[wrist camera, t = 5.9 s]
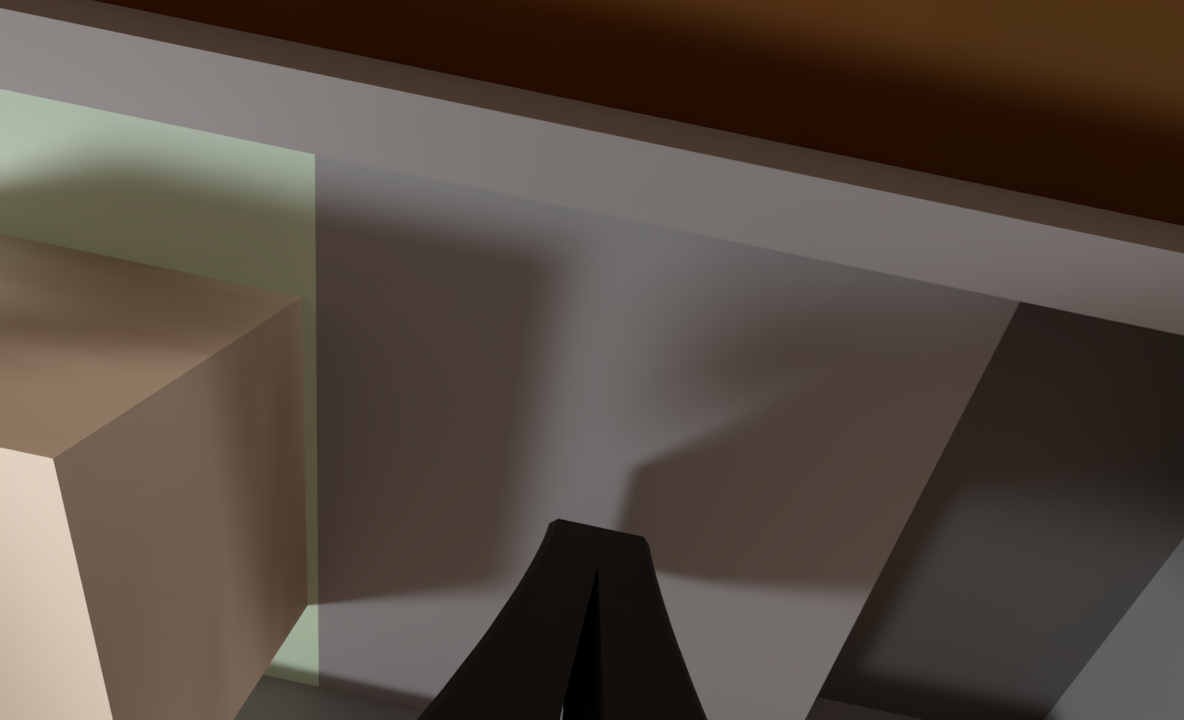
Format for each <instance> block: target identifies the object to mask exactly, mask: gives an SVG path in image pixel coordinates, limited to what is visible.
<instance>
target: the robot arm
mask: <svg viewBox="0 0 1184 720" xmlns="http://www.w3.org/2000/svg"><path fill="white" fill-rule="evenodd" d="M562 708H563V715H562V720H708V719H707V717H706V715H705V712H704V710H703V707H702V705H701V702H700V700H699V698H698V695H697V693H696V690H695V688H694V685H693V682H692V680H691V677H690V674H689V672H688V669H687V667H686V664H685V661H684V659H683V656H682V653H681V651H680V648H679V645H678V643H677V640H676V637H675V634H674V631H673V628H672V625H671V622H670V619H669V616H668V613H667V610H666V607H665V604H664V600H663V597H662V594H661V590H660V587H659V584H658V580H657V576H656V573H655V569H654V565H653V561H652V556H651V552H650V546H649V544H648V542H647V541H646V540H645V538H644V537H643V536H638V535H634V534H629V533H624V532H619V531H615V530H610V529H605V528H601V527H596V526H591V525H587V524H582V523H577V522H573V521H568V520H563V519H559V518H558V519H556V520H554V521H553V522H551V523H549V525H548V528H547V531H546V534H545V536H544V538H543V541H542V543H541V545H540V547H539V549H538V551H537V553H536V555H535V557H534V559H533V560H532V562H531V564H530V566H529V567H528V569H527V571H526V572H525V574H524V576H523V577H522V579H521V581H520V582H519V584H518V586H517V587H516V589H515V590H514V592H513V593H512V595H511V596H510V598H509V599H508V601H507V602H506V604H505V605H504V607H503V608H502V610H501V611H500V613H499V614H498V616H497V617H496V619H495V620H494V621H493V623H492V624H491V626H490V627H489V629H488V630H487V632H486V633H485V634H484V636H483V637H482V638H481V640H480V641H479V642H478V644H477V645H476V646H475V648H474V649H473V650H472V651H471V653H470V654H469V655H468V657H467V658H466V659H465V660H464V662H463V663H462V664H461V666H460V667H459V668H458V669H457V671H456V672H455V673H454V675H453V676H452V677H451V678H450V680H449V681H448V682H447V684H446V685H445V686H444V687H443V689H442V690H441V691H440V692H439V694H438V695H437V696H436V697H435V698H434V700H433V701H432V702H431V703H430V704H429V706H428V707H427V708H426V709H425V710H424V711H423V713H422V714H421V715H420V716H419V717H418V718H417V720H560V718H561V713H562Z"/></svg>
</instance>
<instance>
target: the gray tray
mask: <svg viewBox="0 0 1184 720" xmlns="http://www.w3.org/2000/svg"><path fill="white" fill-rule="evenodd" d="M0 234H5V235H10V236H14V237H19V238H24V239H29V240H34V241H38V242H43V243H48V244H53V245H57V246H62V247H67V248H72V249H76V250H81V251H86V252H91V253H95V254H100V255H105V256H110V257H114V258H119V259H124V260H129V261H133V262H138V263H143V264H148V265H153V266H157V267H162V268H167V269H172V270H176V271H181V272H186V273H191V274H195V275H200V276H205V277H210V278H214V279H219V280H224V281H229V282H233V283H238V284H243V285H248V286H253V287H257V288H262V289H267V290H272V291H276V292H281V293H286V294H291V295H295V296H300V297H302V311H303V368H304V425H305V482H306V539H307V596H308V606H307V607H306V609H305V610H304V612H303V613H302V615H301V617H300V618H299V620H298V621H297V623H296V624H295V626H294V627H293V629H292V630H291V632H290V633H289V635H288V637H287V638H286V640H285V641H284V643H283V644H282V646H281V647H280V649H279V650H278V652H277V653H276V655H275V657H274V658H273V660H272V661H271V663H270V664H269V666H268V667H267V669H266V670H265V672H264V673H263V675H262V677H261V678H260V680H259V681H258V683H257V684H256V686H255V687H254V689H253V690H252V692H251V693H250V695H249V697H248V698H247V700H246V701H245V703H244V704H243V706H242V707H241V709H240V710H239V712H238V713H237V715H236V717H235V718H234V720H417V718H418V717H419V716H420V715H421V714H422V713H423V711H424V710H425V709H426V708H427V707H428V706H429V704H430V703H431V702H432V701H433V700H434V698H435V697H436V696H437V695H438V694H439V692H440V691H441V690H442V689H443V687H444V686H445V685H446V684H447V682H448V681H449V680H450V678H451V677H452V676H453V675H454V673H455V672H456V671H457V669H458V668H459V667H460V666H461V664H462V663H463V662H464V660H465V659H466V658H467V657H468V655H469V654H470V653H471V651H472V650H473V649H474V648H475V646H476V645H477V644H478V642H479V641H480V640H481V638H482V637H483V636H484V634H485V633H486V632H487V630H488V629H489V627H490V626H491V624H492V623H493V621H494V620H495V619H496V617H497V616H498V614H499V613H500V611H501V610H502V608H503V607H504V605H505V604H506V602H507V601H508V599H509V598H510V596H511V595H512V593H513V592H514V590H515V589H516V587H517V586H518V584H519V582H520V581H521V579H522V577H523V576H524V574H525V572H526V571H527V569H528V567H529V566H530V564H531V562H532V560H533V559H534V557H535V555H536V553H537V551H538V549H539V547H540V545H541V543H542V541H543V538H544V536H545V534H546V531H547V528H548V525H549V523H551V522H553V521H554V520H556V519H558V518H559V519H563V520H568V521H573V522H577V523H582V524H587V525H591V526H596V527H601V528H605V529H610V530H615V531H619V532H624V533H629V534H634V535H638V536H643V537H644V538H645V540H646V541H647V542H648V544H649V546H650V552H651V556H652V561H653V565H654V569H655V573H656V576H657V580H658V584H659V587H660V590H661V594H662V597H663V600H664V604H665V607H666V610H667V613H668V616H669V619H670V622H671V625H672V628H673V631H674V634H675V637H676V640H677V643H678V645H679V648H680V651H681V653H682V656H683V659H684V661H685V664H686V667H687V669H688V672H689V674H690V677H691V680H692V682H693V685H694V688H695V690H696V693H697V695H698V698H699V700H700V702H701V705H702V707H703V710H704V712H705V715H706V717H707V719H708V720H1184V226H1181V225H1176V224H1171V223H1167V222H1162V221H1157V220H1152V219H1147V218H1142V217H1138V216H1133V215H1128V214H1123V213H1118V212H1113V211H1109V210H1104V209H1099V208H1094V207H1089V206H1084V205H1080V204H1075V203H1070V202H1065V201H1060V200H1055V199H1051V198H1046V197H1041V196H1036V195H1031V194H1026V193H1022V192H1017V191H1012V190H1007V189H1002V188H997V187H993V186H988V185H983V184H978V183H973V182H968V181H964V180H959V179H954V178H949V177H944V176H940V175H935V174H930V173H925V172H920V171H915V170H911V169H906V168H901V167H896V166H891V165H886V164H882V163H877V162H872V161H867V160H862V159H857V158H853V157H848V156H843V155H838V154H833V153H828V152H824V151H819V150H814V149H809V148H804V147H799V146H795V145H790V144H785V143H780V142H775V141H770V140H766V139H761V138H756V137H751V136H746V135H741V134H737V133H732V132H727V131H722V130H717V129H712V128H708V127H703V126H698V125H693V124H688V123H683V122H679V121H674V120H669V119H664V118H659V117H654V116H650V115H645V114H640V113H635V112H630V111H626V110H621V109H616V108H611V107H606V106H601V105H597V104H592V103H587V102H582V101H577V100H572V99H568V98H563V97H558V96H553V95H548V94H543V93H539V92H534V91H529V90H524V89H519V88H514V87H510V86H505V85H500V84H495V83H490V82H485V81H481V80H476V79H471V78H466V77H461V76H456V75H452V74H447V73H442V72H437V71H432V70H427V69H423V68H418V67H413V66H408V65H403V64H398V63H394V62H389V61H384V60H379V59H374V58H369V57H365V56H360V55H355V54H350V53H345V52H340V51H336V50H331V49H326V48H321V47H316V46H312V45H307V44H302V43H297V42H292V41H287V40H283V39H278V38H273V37H268V36H263V35H258V34H254V33H249V32H244V31H239V30H234V29H229V28H225V27H220V26H215V25H210V24H205V23H200V22H196V21H191V20H186V19H181V18H176V17H171V16H167V15H162V14H157V13H152V12H147V11H142V10H138V9H133V8H128V7H123V6H118V5H113V4H109V3H104V2H99V1H94V0H0ZM562 715H563V708H562V713H561V718H560V720H562Z"/></svg>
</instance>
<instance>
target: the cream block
mask: <svg viewBox="0 0 1184 720" xmlns="http://www.w3.org/2000/svg"><path fill="white" fill-rule="evenodd" d="M307 606H308V596H307V539H306V482H305V425H304V368H303V311H302V297H300V296H295V295H291V294H286V293H281V292H276V291H272V290H267V289H262V288H257V287H253V286H248V285H243V284H238V283H233V282H229V281H224V280H219V279H214V278H210V277H205V276H200V275H195V274H191V273H186V272H181V271H176V270H172V269H167V268H162V267H157V266H153V265H148V264H143V263H138V262H133V261H129V260H124V259H119V258H114V257H110V256H105V255H100V254H95V253H91V252H86V251H81V250H76V249H72V248H67V247H62V246H57V245H53V244H48V243H43V242H38V241H34V240H29V239H24V238H19V237H14V236H10V235H5V234H0V720H234V718H235V717H236V715H237V713H238V712H239V710H240V709H241V707H242V706H243V704H244V703H245V701H246V700H247V698H248V697H249V695H250V693H251V692H252V690H253V689H254V687H255V686H256V684H257V683H258V681H259V680H260V678H261V677H262V675H263V673H264V672H265V670H266V669H267V667H268V666H269V664H270V663H271V661H272V660H273V658H274V657H275V655H276V653H277V652H278V650H279V649H280V647H281V646H282V644H283V643H284V641H285V640H286V638H287V637H288V635H289V633H290V632H291V630H292V629H293V627H294V626H295V624H296V623H297V621H298V620H299V618H300V617H301V615H302V613H303V612H304V610H305V609H306V607H307Z"/></svg>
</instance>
